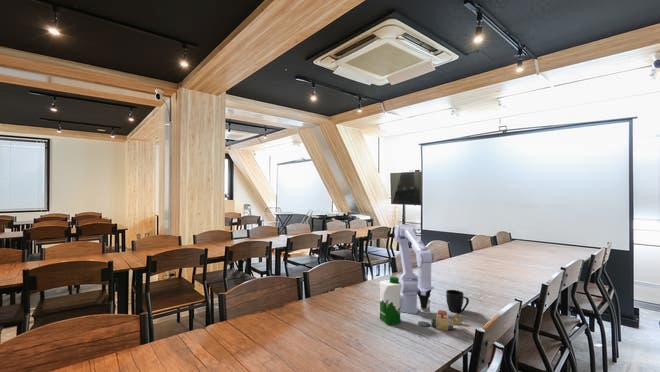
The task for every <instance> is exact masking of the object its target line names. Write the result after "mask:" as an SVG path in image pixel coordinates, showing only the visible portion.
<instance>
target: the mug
mask: <svg viewBox="0 0 660 372" xmlns="http://www.w3.org/2000/svg"><path fill="white" fill-rule="evenodd" d="M445 295H446V296H445V298H446V303H447V307H448V310H449V312H451V313H454V314H460V313H463V312H464V311H465V309H467V307H468V305H469V303H470V298H469V297H466V296H464V292H463V291H460V290H457V289H448V290H446V291H445ZM464 299H465V304H464ZM463 305H464V306H463Z"/></svg>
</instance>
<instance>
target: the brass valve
mask: <svg viewBox="0 0 660 372" xmlns="http://www.w3.org/2000/svg"><path fill="white" fill-rule="evenodd" d="M430 321H431V323H430V324H431V326H430V327H435V329H436V330H442V331H449V330H452V331H453V330H454V325H453V322H451V320H449V315H448V312H447V311H446V310H441V309H439V310H437V313H436V317H435V318H434V315H431V319H430Z"/></svg>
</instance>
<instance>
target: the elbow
mask: <svg viewBox="0 0 660 372" xmlns="http://www.w3.org/2000/svg"><path fill="white" fill-rule="evenodd" d="M462 317H463V316H462V315H461V314H460V313H455V318H453V317H452V318H451V320H450V321H451V322H453V326H458V325H459V326H460V325H461V326H462V325H463V324H462V321H463V320H462Z"/></svg>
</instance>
